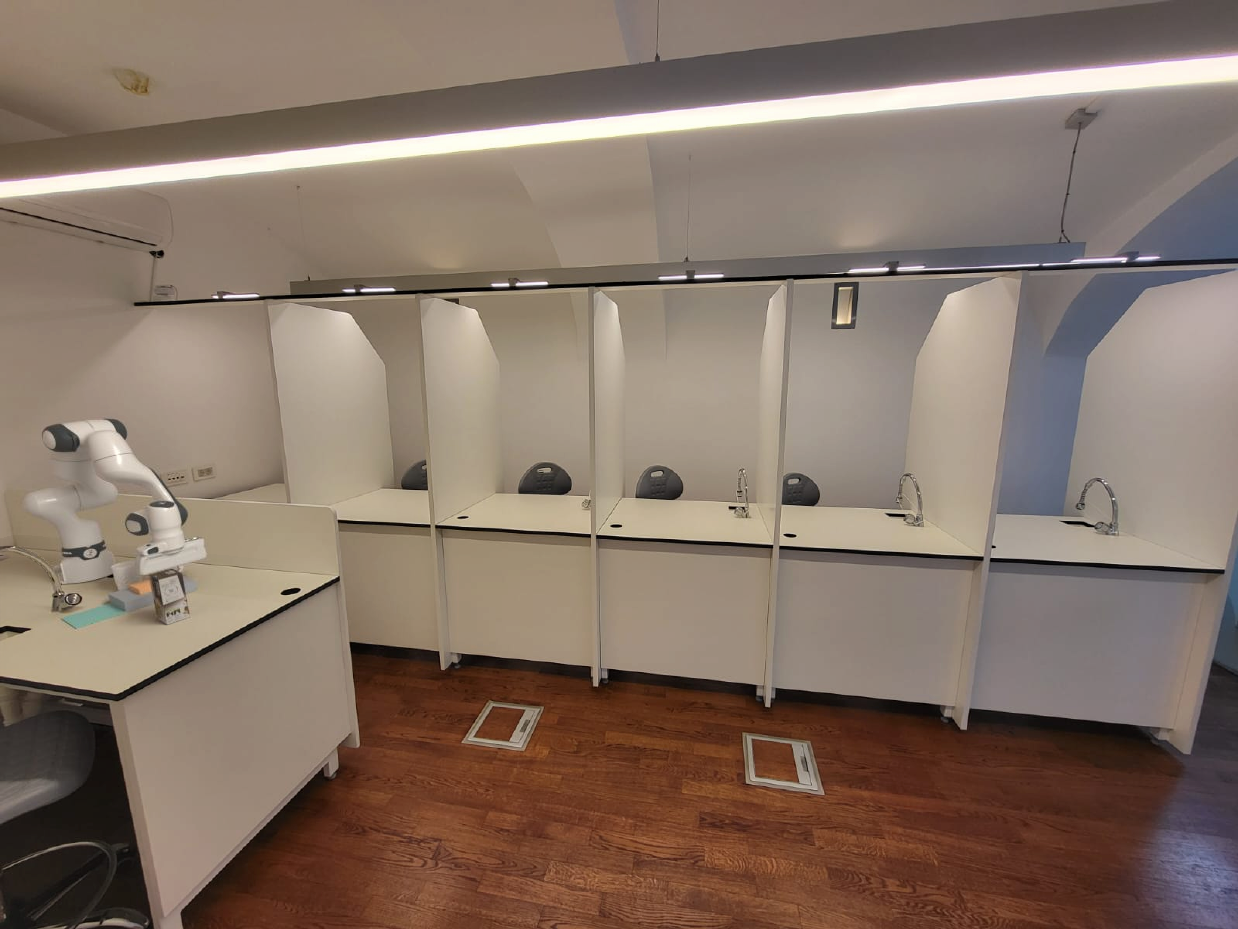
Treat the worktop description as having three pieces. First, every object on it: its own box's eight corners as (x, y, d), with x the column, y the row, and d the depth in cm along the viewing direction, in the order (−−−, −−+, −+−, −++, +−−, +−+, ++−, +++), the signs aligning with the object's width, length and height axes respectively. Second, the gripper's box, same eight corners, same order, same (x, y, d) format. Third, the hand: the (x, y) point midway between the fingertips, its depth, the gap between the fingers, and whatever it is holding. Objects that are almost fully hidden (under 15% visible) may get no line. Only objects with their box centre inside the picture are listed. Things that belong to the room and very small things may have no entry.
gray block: (110, 604, 172) (108, 593, 171) (180, 583, 189) (178, 573, 189) (126, 612, 165) (124, 602, 165) (196, 590, 183) (195, 580, 182)
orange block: (129, 589, 174) (128, 584, 174) (151, 583, 180) (150, 578, 179) (140, 594, 170) (139, 589, 170) (161, 588, 175) (160, 583, 175)
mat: (61, 619, 161) (61, 618, 161) (110, 604, 172) (110, 603, 172) (76, 628, 155) (76, 627, 155) (126, 612, 165) (126, 611, 165)
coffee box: (191, 617, 162) (183, 573, 159) (166, 625, 157) (157, 580, 154) (180, 610, 167) (172, 567, 164) (156, 618, 161) (147, 574, 159)
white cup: (114, 594, 179) (109, 569, 178) (118, 587, 185) (112, 563, 184) (143, 588, 184) (138, 564, 182) (146, 582, 190) (141, 558, 188)
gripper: (199, 534, 190) (204, 566, 193) (129, 550, 173) (137, 585, 175) (206, 536, 188) (212, 569, 190) (137, 553, 170) (144, 589, 172)
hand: (175, 577), depth 182 cm, fingers closed
